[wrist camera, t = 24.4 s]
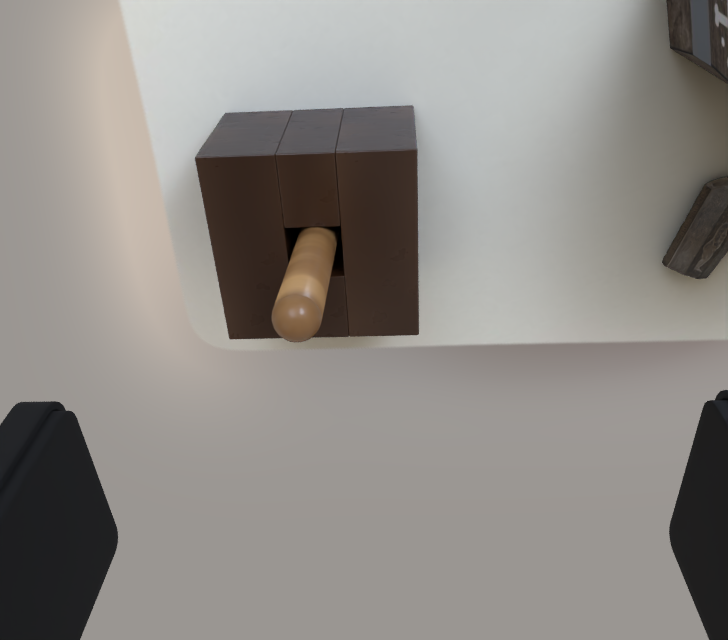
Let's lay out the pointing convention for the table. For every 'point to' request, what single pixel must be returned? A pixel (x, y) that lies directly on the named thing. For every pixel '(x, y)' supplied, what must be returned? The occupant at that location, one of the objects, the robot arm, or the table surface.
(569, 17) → the table surface
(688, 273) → the block
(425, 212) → the table surface
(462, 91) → the table surface
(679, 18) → the mug
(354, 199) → the holder
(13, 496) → the robot arm
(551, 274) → the table surface
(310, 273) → the stick
